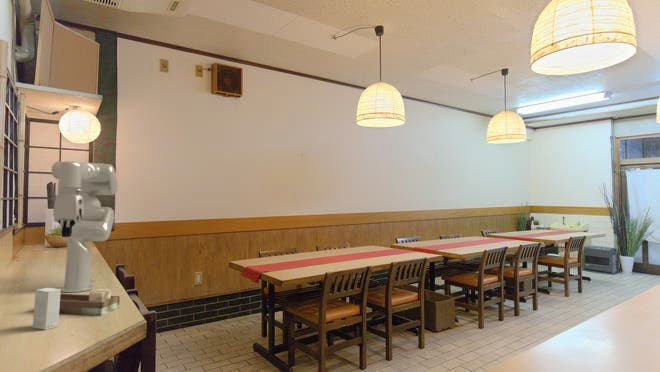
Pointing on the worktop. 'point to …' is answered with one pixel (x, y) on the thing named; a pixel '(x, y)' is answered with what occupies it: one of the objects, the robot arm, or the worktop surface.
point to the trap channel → (86, 305)
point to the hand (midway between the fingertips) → (66, 236)
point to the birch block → (99, 295)
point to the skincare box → (46, 308)
